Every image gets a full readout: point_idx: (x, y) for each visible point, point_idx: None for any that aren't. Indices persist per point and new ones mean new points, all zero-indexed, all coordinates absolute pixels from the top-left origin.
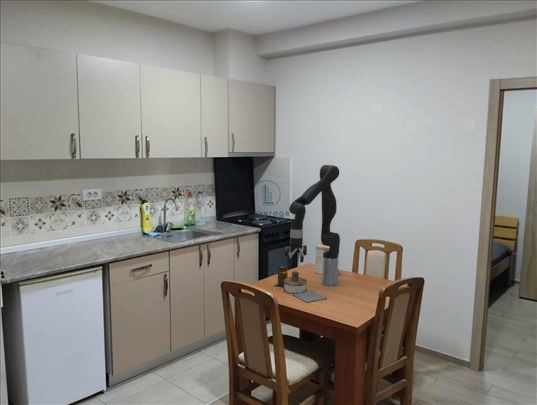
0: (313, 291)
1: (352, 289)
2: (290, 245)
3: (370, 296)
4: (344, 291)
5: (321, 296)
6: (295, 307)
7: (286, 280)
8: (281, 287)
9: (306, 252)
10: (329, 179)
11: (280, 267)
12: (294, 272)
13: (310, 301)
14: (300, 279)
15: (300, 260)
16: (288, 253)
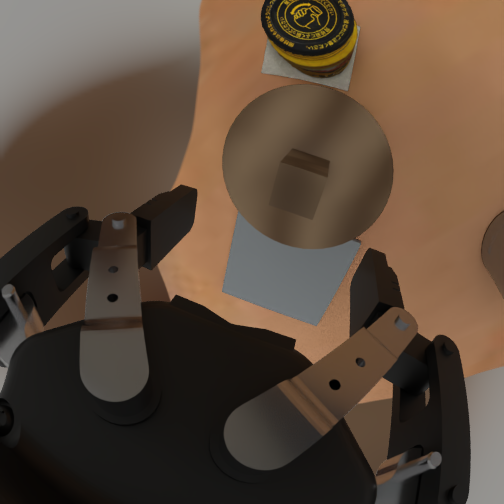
0: (354, 251)
1: (468, 336)
2: (3, 402)
3: None
4: (437, 329)
5: (317, 306)
6: (166, 278)
7: (254, 128)
8: (289, 67)
9: (414, 412)
10: None
11: (281, 3)
12: (285, 189)
13: (238, 297)
14: (352, 188)
15: (368, 265)
16: (60, 298)
